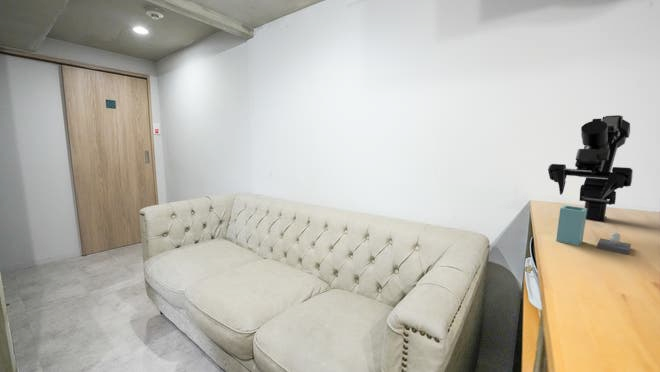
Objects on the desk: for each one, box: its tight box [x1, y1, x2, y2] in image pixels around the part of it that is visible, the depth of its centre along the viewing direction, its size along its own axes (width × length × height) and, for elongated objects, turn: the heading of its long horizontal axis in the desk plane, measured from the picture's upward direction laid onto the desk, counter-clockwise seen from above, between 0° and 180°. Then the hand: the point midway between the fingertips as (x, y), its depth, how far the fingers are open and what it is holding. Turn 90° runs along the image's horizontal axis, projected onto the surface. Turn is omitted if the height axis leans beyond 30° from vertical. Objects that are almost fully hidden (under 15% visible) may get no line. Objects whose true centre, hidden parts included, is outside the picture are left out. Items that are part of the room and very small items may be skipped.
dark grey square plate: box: [596, 231, 632, 256], centre depth 75 cm, size 6×6×4 cm
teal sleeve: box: [555, 204, 587, 247], centre depth 80 cm, size 5×5×10 cm
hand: (580, 196), depth 83 cm, fingers open, 9 cm apart
